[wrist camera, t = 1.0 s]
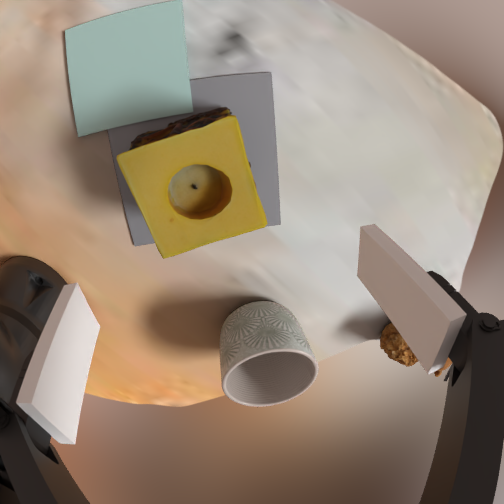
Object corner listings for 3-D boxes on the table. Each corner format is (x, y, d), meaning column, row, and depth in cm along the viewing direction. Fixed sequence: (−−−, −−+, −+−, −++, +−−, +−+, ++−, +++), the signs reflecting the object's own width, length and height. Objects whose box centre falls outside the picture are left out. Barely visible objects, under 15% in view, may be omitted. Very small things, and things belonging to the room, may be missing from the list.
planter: (199, 314, 43) (202, 375, 34) (278, 277, 42) (300, 333, 33) (239, 361, 49) (249, 415, 40) (307, 330, 48) (329, 383, 39)
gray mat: (135, 245, 36) (134, 246, 36) (103, 98, 27) (102, 98, 27) (280, 223, 38) (280, 224, 38) (270, 72, 29) (271, 72, 28)
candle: (136, 135, 29) (110, 154, 21) (226, 103, 29) (236, 109, 21) (168, 216, 35) (158, 262, 26) (252, 189, 35) (270, 227, 26)
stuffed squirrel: (427, 326, 55) (460, 372, 43) (368, 350, 54) (397, 403, 43) (436, 289, 49) (476, 336, 38) (371, 314, 49) (407, 371, 38)
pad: (80, 136, 28) (78, 137, 28) (66, 31, 22) (64, 30, 21) (193, 111, 30) (193, 112, 29) (182, 1, 23) (181, -1, 22)
